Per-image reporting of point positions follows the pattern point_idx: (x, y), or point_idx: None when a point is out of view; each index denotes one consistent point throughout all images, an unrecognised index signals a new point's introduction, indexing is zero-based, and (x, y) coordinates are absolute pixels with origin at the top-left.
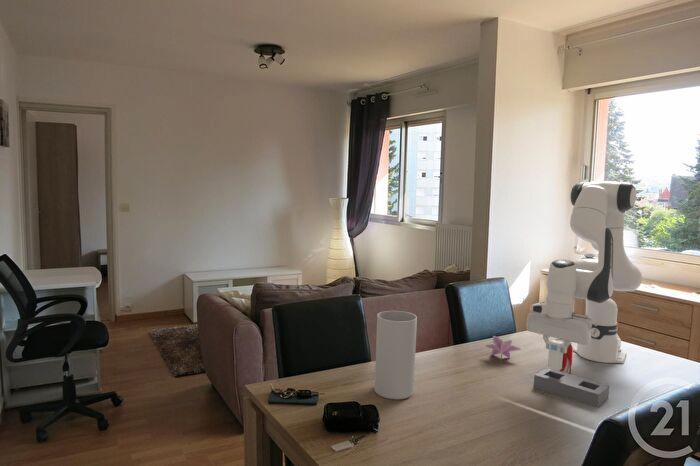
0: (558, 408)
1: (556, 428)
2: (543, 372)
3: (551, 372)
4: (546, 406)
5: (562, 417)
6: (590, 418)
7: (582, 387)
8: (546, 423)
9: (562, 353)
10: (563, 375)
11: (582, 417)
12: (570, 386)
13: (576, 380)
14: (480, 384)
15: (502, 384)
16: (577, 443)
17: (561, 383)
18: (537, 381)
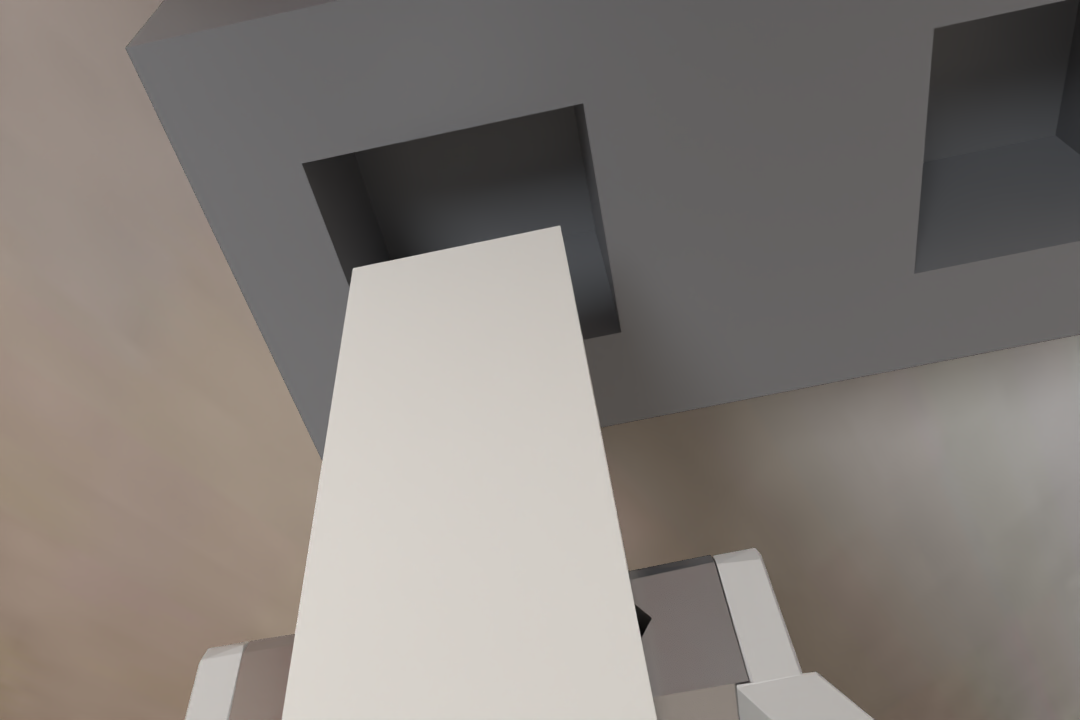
0: (778, 467)
1: (901, 670)
2: (315, 315)
3: (338, 149)
4: (686, 516)
5: (872, 550)
6: (1071, 396)
7: (994, 290)
8: (823, 674)
9: (611, 487)
10: (559, 105)
11: (1005, 434)
12: (842, 372)
13: (834, 133)
14: (52, 649)
15: (110, 511)
16: (1063, 692)
17: (718, 401)
18: None
